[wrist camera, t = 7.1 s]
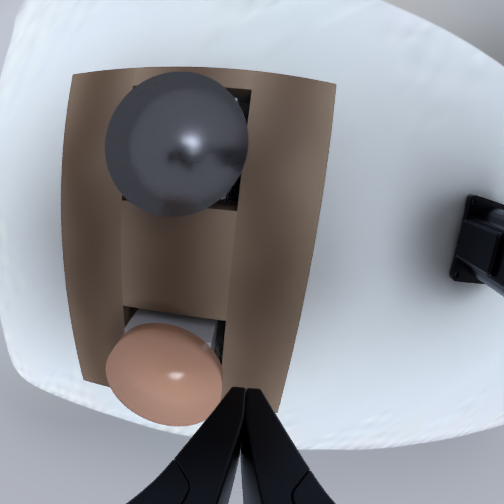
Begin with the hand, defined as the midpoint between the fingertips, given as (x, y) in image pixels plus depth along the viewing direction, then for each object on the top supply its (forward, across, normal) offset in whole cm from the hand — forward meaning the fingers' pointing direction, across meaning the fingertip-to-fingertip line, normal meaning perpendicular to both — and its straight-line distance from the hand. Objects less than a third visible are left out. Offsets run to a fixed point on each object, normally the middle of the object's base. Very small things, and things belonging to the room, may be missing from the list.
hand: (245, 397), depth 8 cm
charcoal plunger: (+11, +4, -7) cm, 14 cm away
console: (+12, +4, -1) cm, 12 cm away
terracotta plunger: (+10, +4, +5) cm, 12 cm away
